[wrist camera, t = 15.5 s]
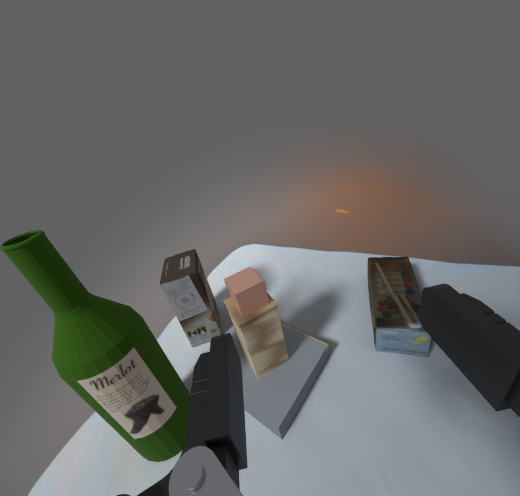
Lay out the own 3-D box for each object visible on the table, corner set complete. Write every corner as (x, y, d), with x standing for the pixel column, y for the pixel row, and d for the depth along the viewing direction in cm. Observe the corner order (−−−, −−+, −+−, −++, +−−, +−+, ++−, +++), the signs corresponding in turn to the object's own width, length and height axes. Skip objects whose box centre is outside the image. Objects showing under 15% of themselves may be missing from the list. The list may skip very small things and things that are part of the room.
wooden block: (271, 335, 44) (258, 283, 38) (290, 360, 39) (277, 304, 33) (242, 353, 42) (222, 300, 36) (258, 380, 37) (238, 325, 31)
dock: (262, 323, 50) (260, 313, 49) (329, 355, 42) (328, 344, 40) (211, 383, 42) (205, 372, 40) (282, 439, 33) (278, 429, 31)
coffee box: (223, 337, 50) (197, 273, 41) (191, 348, 49) (158, 285, 41) (218, 306, 57) (195, 248, 49) (191, 315, 57) (163, 257, 49)
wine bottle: (152, 481, 32) (-66, 287, 15) (130, 428, 38) (-41, 249, 22) (209, 423, 36) (88, 225, 20) (182, 384, 43) (72, 208, 26)
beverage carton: (372, 352, 41) (373, 325, 38) (366, 278, 56) (366, 254, 53) (429, 359, 38) (436, 330, 35) (406, 279, 53) (410, 253, 50)
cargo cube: (256, 288, 37) (250, 266, 35) (269, 303, 33) (263, 280, 31) (231, 300, 35) (223, 278, 33) (243, 317, 32) (235, 294, 30)
